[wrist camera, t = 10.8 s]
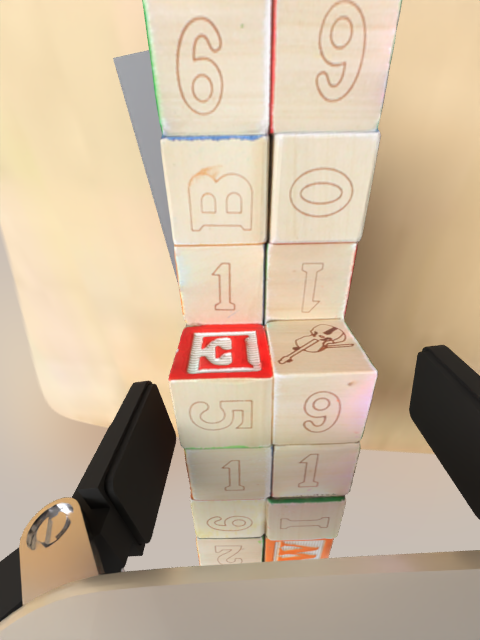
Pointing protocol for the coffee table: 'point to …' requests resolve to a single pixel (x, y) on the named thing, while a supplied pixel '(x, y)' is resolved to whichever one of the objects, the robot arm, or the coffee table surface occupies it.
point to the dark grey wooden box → (146, 130)
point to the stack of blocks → (269, 257)
